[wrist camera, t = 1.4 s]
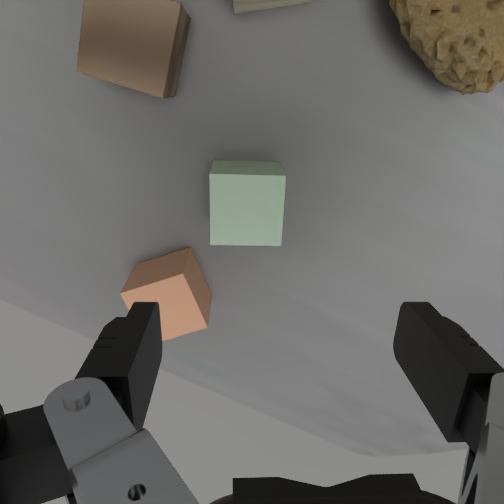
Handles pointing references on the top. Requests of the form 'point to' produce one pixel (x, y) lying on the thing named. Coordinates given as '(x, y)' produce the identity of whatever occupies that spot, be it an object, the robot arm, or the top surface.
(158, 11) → the walnut block
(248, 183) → the sage block
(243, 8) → the maple block
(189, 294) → the terracotta block
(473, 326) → the top surface
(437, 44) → the sponge
